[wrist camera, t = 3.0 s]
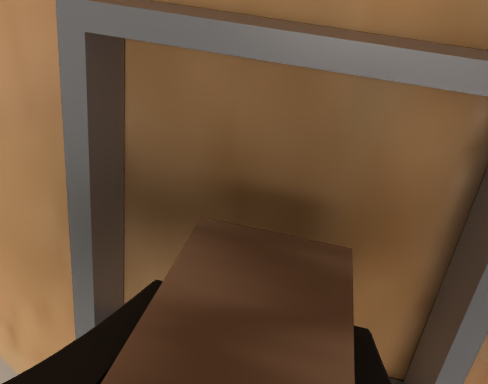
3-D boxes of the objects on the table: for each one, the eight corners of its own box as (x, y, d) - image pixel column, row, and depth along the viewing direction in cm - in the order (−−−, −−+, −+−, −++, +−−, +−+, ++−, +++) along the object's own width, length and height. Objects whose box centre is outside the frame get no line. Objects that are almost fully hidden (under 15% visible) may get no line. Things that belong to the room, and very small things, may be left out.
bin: (561, 61, 13) (607, 79, 10) (418, 399, 19) (428, 457, 16) (100, -8, 14) (55, -5, 12) (106, 323, 20) (77, 365, 18)
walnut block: (351, 249, 12) (356, 478, 6) (321, 361, 13) (304, 614, 8) (201, 217, 12) (88, 404, 7) (191, 330, 14) (95, 547, 9)
